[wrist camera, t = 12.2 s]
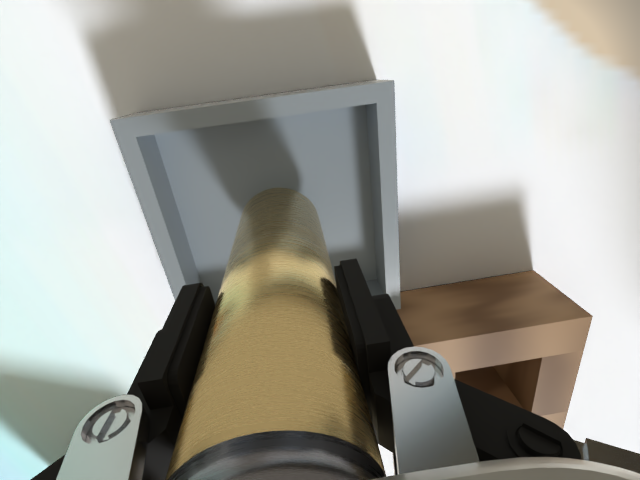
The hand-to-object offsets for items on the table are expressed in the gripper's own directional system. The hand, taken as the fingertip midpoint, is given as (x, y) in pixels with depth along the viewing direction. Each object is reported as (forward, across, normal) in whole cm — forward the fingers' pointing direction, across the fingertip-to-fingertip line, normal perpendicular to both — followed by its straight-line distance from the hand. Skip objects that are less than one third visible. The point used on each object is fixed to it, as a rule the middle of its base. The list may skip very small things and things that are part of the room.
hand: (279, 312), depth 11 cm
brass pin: (+7, 0, 0) cm, 7 cm away
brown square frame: (+10, -11, +12) cm, 19 cm away
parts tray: (+10, 0, 0) cm, 10 cm away
